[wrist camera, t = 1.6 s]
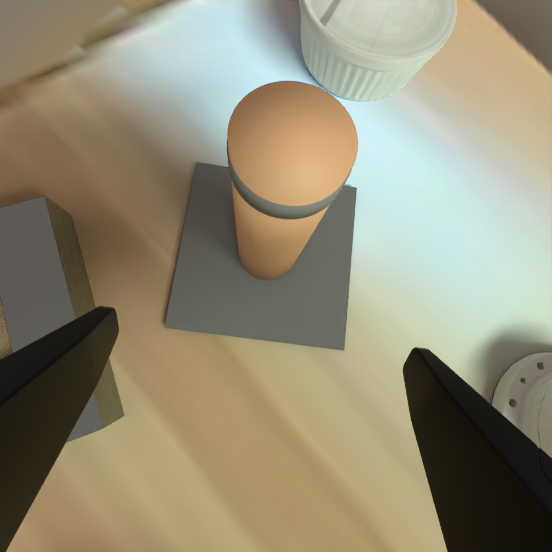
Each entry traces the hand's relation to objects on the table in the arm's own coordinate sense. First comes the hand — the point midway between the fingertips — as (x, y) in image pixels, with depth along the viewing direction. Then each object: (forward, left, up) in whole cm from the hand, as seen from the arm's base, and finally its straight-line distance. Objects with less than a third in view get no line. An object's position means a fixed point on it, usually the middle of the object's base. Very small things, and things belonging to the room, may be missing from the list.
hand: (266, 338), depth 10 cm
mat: (+5, -3, -12) cm, 14 cm away
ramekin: (+19, -16, -13) cm, 28 cm away
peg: (+5, -3, -12) cm, 13 cm away
